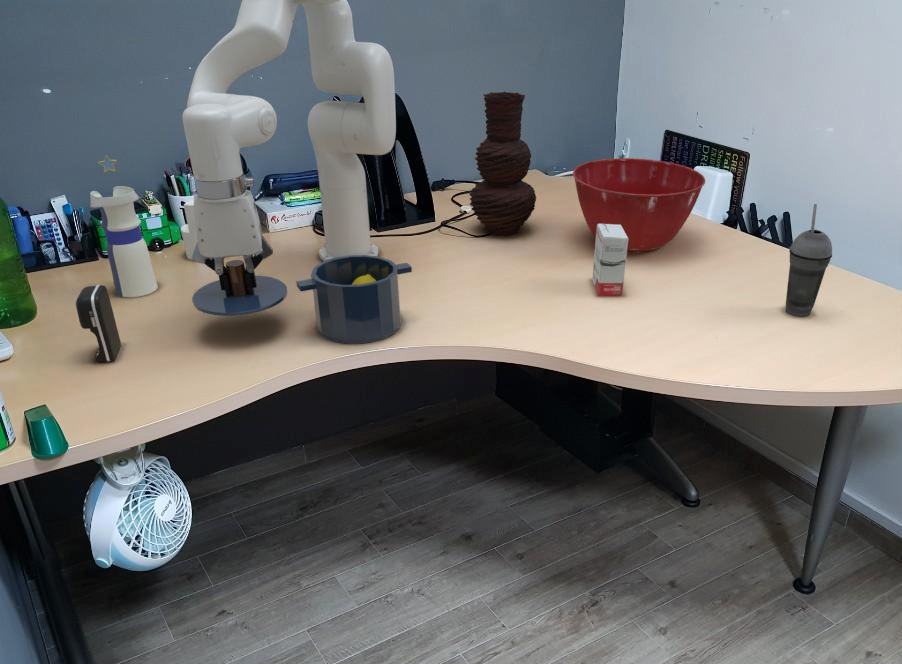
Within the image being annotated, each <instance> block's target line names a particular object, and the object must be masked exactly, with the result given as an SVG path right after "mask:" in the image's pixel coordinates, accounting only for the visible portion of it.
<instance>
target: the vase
mask: <svg viewBox="0 0 902 664" xmlns="http://www.w3.org/2000/svg"><path fill="white" fill-rule="evenodd" d="M482 96H483V97H484V98H483V100H484V102H485V103H484V107H485V108H486V109H485V110H484V113H485V118H486V120H485V124H486V126H485V129H486V130H485V134H486V138H485V139H484V140H483V141H482V142H480V144H479V146H478V147H476V148H475V149H476V152H475V155H476V157H474V160H475V161H477V162H476V166H477V167H476V170H477V171H479V176H480V177H481V179H482V181H480V182H477V183H475V186H474V187H472V188H471V192H469V196H470V198H469V201H470V202H469V206H471V208H470V210H471V211H473V213H472V214H473V215H474V216H476V220H478V221H479V222H480V224H481V225H483V228H484V230H485V231H486V233H487V234H490V235H494V236H512V235H514V234H518V233H519V230H520V229H521V228H522V227H523V226H524V224H525V223H526V222H527V220H528V219H529V218H530V217H531V216H532V213H533V212H534V210H535V207H536V201H537V195H536V191H535V188H534V187H533V186H532V185H531V184H529V183H527V182H526V181H523V180H524V178H526V176H527V175H528V173H529V170H530V166H531V165H532V164H531V159H532V152H531V149H530V147H529V146H528V144H527V143H526V142H525V141H523V140H522V139H521V136H522V134H521V133H522V114H523V111H524V110H523V109H524V108H523V103H524V100H525V98H526V97H525V96H526V95H525V94H522V93H519V92H509V91H500V92H499V91H498V92H496V91H495V92H492V91H490V92H488V93H484V94H482Z"/></svg>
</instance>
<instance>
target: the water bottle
mask: <svg viewBox="0 0 902 664" xmlns="http://www.w3.org/2000/svg"><path fill="white" fill-rule="evenodd" d="M117 162H118V160H117V159H110V157H109V156H108V155H107V154H105V156H104V160H101V161H98V162H97V164H99V165H100V166H102V167H103V174H105V173H107V172H108V171H112V172H116V170H117V169H116V168H115V164H116V163H117ZM112 188H113V189H112V191H113V192H112V196H102V194H101V193H100V192H99V191H96V190H92V191H90V193H89V194H90V196H89V197H90V209H91V208H92V209H95V208H98V209H99V211H100V214H101V222H100V227H101V229H103V233H104V235H105V240H106V253H107V258H108V263H109V266H110V271H111V275H112V280H113V284H114V290H115V294H116V295H117V296H119V297H122V298H139V297H143V296H147V295H150V294H152V293H155V292H156V291H157V290H158V288H159V285H158V282H157V280H156V275H155V273H154V268H153V265H152V261H151V257H150V252H149V249H148V245H147V243H146V240H145V239H144V237H143V234H142V230H141V229H142V228H141V223H142V220H141V218H139V217H138V215H137V213H136V210H135V204H134V202H136V201H137V200H139V199H140V197H139V195H138V194H137V193H136V192H135V189H134V188H132V187H130V186H125V185H116V186H114V187H112Z"/></svg>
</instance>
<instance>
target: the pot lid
mask: <svg viewBox="0 0 902 664" xmlns="http://www.w3.org/2000/svg"><path fill="white" fill-rule="evenodd" d="M225 267H226V270H227V275H228V280H229V285H230V291H231V296H230V297H226V293H225V290H221V285H220V280H219V279H218V280H214V281H211V282H209V283H207V284H205V285H203V286H201V287H200V288H198V289H197V290H196V291H195V292H194V293H193V294H192V298H191V301H192V305H193V306H194V308H195V309H196V310H198V311H199V312H201V313H204V314H207V315H212V316H218V317H238V316H239V317H240V316H246V315H252V314H256V313H257V314H258V313H260V312H264V311H266V310H269V309H271V308H274V307H276V306H277V305H278V304H280V303H282V302H283V301H284V300H285V299H286V298H287V296H288V287H287V285H286V284H285V283H284V282H283V281H282V280H280V279H279V278H275V277H272V276H267V275H258V274H257V275H256V274H255V278H256V284H257V287H256V288H253V295H250V294H248V290H247V284H246V279H245V269H246V265H245V261H244V260H242V259H232V260H228V261H226V262H225Z"/></svg>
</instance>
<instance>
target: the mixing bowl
mask: <svg viewBox="0 0 902 664" xmlns="http://www.w3.org/2000/svg"><path fill="white" fill-rule="evenodd" d="M572 176H573V178H574V182H575V188H576V194H577V199H578V202H579V205H580V209H581V212H582V215H583V217H584V220H585V223H586V225H587V227H588V228H589V232H590V233H591V235H592V236H593V237H594V238H595V239H596V231H597V224H614V225H621V226H622V228H623V230H624V232H625V233H626V235H627V237H628V246H627V253H634V254H635V253H648V252H653V251H656V250H658V249H660V248H662V247H664V246H665V245H667V244H669V243H670V242H672V241H673V240H674V238H676V236H677V235H678V233H679V232H680V231H681V230H682V228H683V226H684V225H685V223H686V222H687V220H688V219H689V217H690V215H691V213H692V211H693V209H694V208H695V206H696V203H697V201H698V198H699V196H700V193H701V191H702V189H703V186H705V184H706V177H705V176H704V175H703V174H702V173H700V171H697V170H696V169H693V168H691V167H688V166H685V165H682V164H679V163H674V162H669V161H663V160H657V159H647V158H632V157H630V158H629V157H628V158H626V157H619V158H604V159H597V160H591V161H587V162H584V163H582V164H579V165H578V166H576V167H575V168H574V169H573V170H572Z"/></svg>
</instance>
